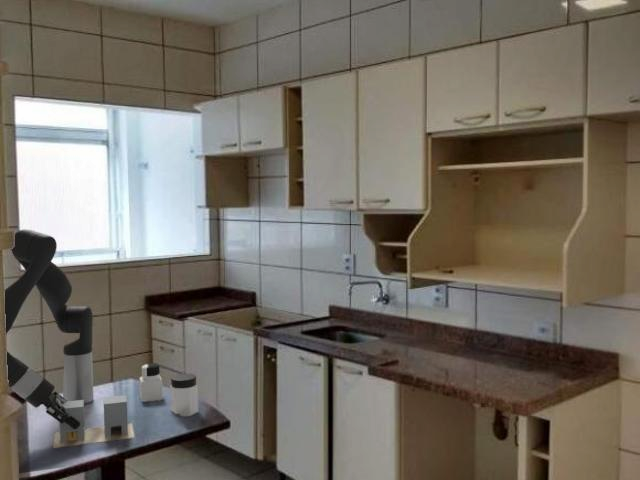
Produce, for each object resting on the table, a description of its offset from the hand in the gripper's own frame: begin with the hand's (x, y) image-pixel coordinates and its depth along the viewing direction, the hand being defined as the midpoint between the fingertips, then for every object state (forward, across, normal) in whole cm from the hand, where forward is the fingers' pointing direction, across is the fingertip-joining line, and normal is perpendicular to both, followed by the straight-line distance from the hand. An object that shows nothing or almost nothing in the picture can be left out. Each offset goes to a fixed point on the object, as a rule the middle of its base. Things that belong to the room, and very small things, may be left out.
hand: (78, 422), depth 185 cm
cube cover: (+2, 0, +4) cm, 5 cm away
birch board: (+7, 0, +1) cm, 7 cm away
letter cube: (+2, 0, +4) cm, 5 cm away
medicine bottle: (+21, +32, -13) cm, 40 cm away
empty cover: (+10, 0, -4) cm, 11 cm away
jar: (+27, +13, -19) cm, 35 cm away
